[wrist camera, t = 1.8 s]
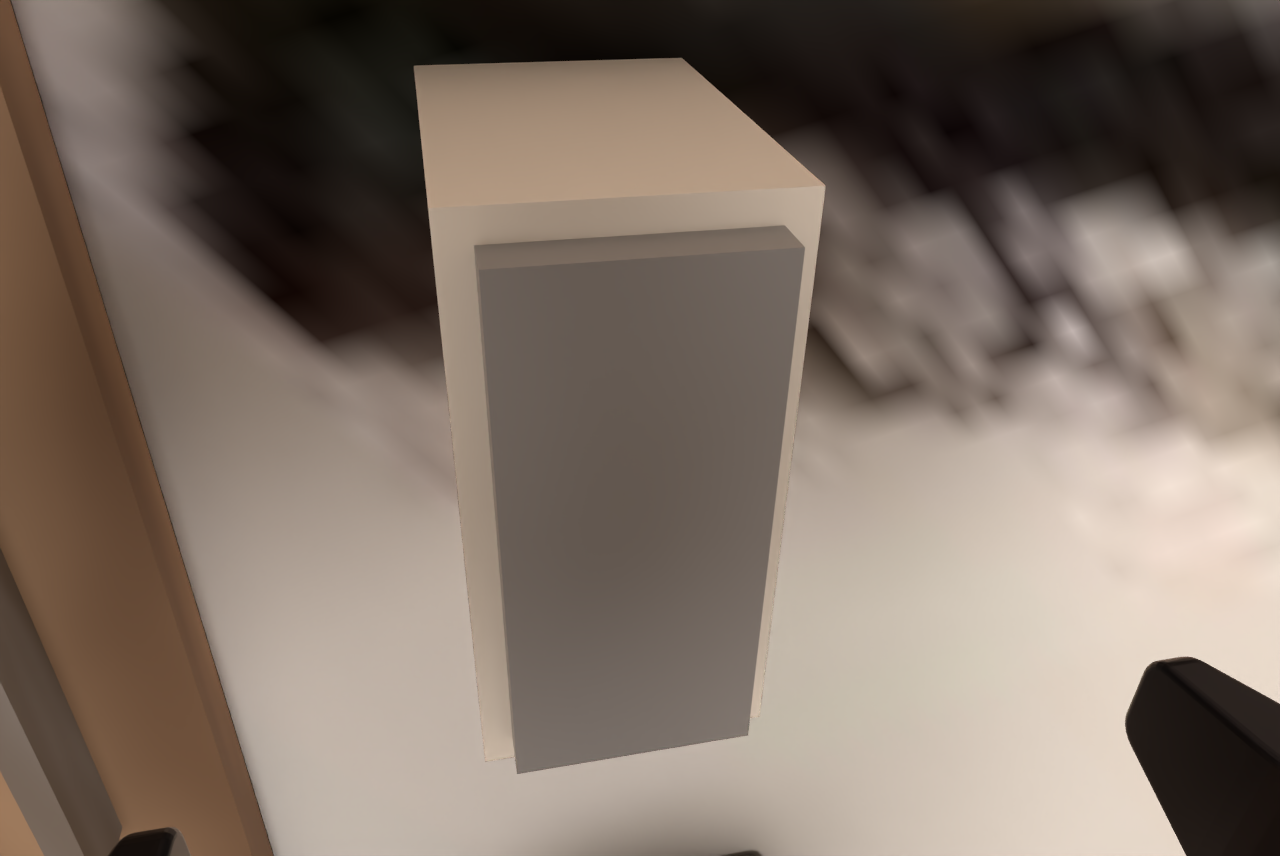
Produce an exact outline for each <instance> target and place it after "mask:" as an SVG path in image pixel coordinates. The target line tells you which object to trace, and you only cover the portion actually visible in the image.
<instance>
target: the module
mask: <svg viewBox="0 0 1280 856" xmlns="http://www.w3.org/2000/svg"><path fill="white" fill-rule="evenodd" d="M414 75H415V85H416V94H417V104H418V114H419V124H420V134H421V144H422V153H423V163H424V173H425V183H426V193H427V203H428V212H429V222H430V232H431V242H432V251H433V261H434V271H435V280H436V290H437V300H438V309H439V319H440V329H441V338H442V348H443V358H444V368H445V377H446V387H447V397H448V406H449V416H450V426H451V435H452V445H453V455H454V464H455V474H456V484H457V494H458V503H459V513H460V523H461V532H462V542H463V552H464V561H465V571H466V581H467V590H468V600H469V610H470V620H471V629H472V639H473V649H474V658H475V668H476V678H477V687H478V697H479V707H480V716H481V726H482V736H483V746H484V755H485V762H487V761H493V760H499V759H505V758H511V757H515V761H516V768H517V774H520V773H525V772H531V771H537V770H543V769H549V768H555V767H561V766H567V765H573V764H579V763H585V762H591V761H597V760H603V759H609V758H615V757H621V756H627V755H633V754H639V753H645V752H651V751H657V750H663V749H669V748H675V747H680V746H686V745H692V744H698V743H704V742H710V741H716V740H722V739H728V738H734V737H740V736H746V735H748V730H749V721H750V718H755V717H759V715H760V707H761V699H762V691H763V683H764V675H765V667H766V659H767V651H768V643H769V635H770V627H771V619H772V611H773V603H774V595H775V587H776V579H777V571H778V563H779V555H780V547H781V539H782V531H783V523H784V515H785V507H786V499H787V491H788V483H789V475H790V467H791V459H792V451H793V443H794V435H795V427H796V419H797V411H798V403H799V395H800V388H801V380H802V372H803V364H804V356H805V348H806V340H807V332H808V324H809V316H810V308H811V300H812V292H813V284H814V276H815V268H816V260H817V252H818V244H819V236H820V228H821V220H822V212H823V204H824V196H825V188H826V186H825V185H824V184H823V183H822V182H821V181H820V180H819V179H818V178H816V177H815V176H814V175H813V174H812V173H811V172H810V171H809V170H807V169H806V168H805V167H804V166H803V165H802V164H801V163H800V162H798V161H797V160H796V159H795V158H794V157H793V156H792V155H791V154H789V153H788V152H787V151H786V150H785V149H784V148H783V147H782V146H780V145H779V144H778V143H777V142H776V141H775V140H774V139H773V138H771V137H770V136H769V135H768V134H767V133H766V132H765V131H764V130H762V129H761V128H760V127H759V126H758V125H757V124H756V123H755V122H753V121H752V120H751V119H750V118H749V117H748V116H747V115H746V114H744V113H743V112H742V111H741V110H740V109H739V108H738V107H737V106H735V105H734V104H733V103H732V102H731V101H730V100H729V99H728V98H726V97H725V96H724V95H723V94H722V93H721V92H720V91H719V90H717V89H716V88H715V87H714V86H713V85H712V84H711V83H710V82H708V81H707V80H706V79H705V78H704V77H703V76H702V75H701V74H699V73H698V72H697V71H696V70H695V69H694V68H693V67H692V66H690V65H689V64H688V63H687V62H686V61H685V60H684V59H682V58H657V59H623V60H588V61H554V62H520V63H486V64H452V65H417V66H414Z"/></svg>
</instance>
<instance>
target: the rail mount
mask: <svg viewBox="0 0 1280 856" xmlns="http://www.w3.org/2000/svg"><path fill="white" fill-rule="evenodd" d="M165 827H175V828H177V829H178V830H180V831H181V833H182V834H183V836H184V839H185V841H186V844H187V846H188V849H189V852H190V854H191V856H273V853H272V849H271V846H270V843H269V840H268V836H267V833H266V830H265V827H264V824H263V820H262V817H261V814H260V811H259V807H258V804H257V801H256V798H255V794H254V791H253V788H252V785H251V781H250V778H249V775H248V772H247V768H246V765H245V762H244V759H243V755H242V752H241V749H240V746H239V742H238V739H237V736H236V733H235V729H234V726H233V723H232V720H231V716H230V713H229V710H228V707H227V703H226V700H225V697H224V694H223V690H222V687H221V684H220V681H219V677H218V674H217V671H216V668H215V664H214V661H213V658H212V655H211V651H210V648H209V645H208V642H207V638H206V635H205V632H204V629H203V625H202V622H201V619H200V616H199V612H198V609H197V606H196V603H195V599H194V596H193V593H192V590H191V586H190V583H189V580H188V577H187V573H186V570H185V567H184V564H183V560H182V557H181V554H180V551H179V547H178V544H177V541H176V538H175V534H174V531H173V528H172V525H171V521H170V518H169V515H168V512H167V508H166V505H165V502H164V499H163V495H162V492H161V489H160V486H159V483H158V479H157V476H156V473H155V470H154V466H153V463H152V460H151V457H150V453H149V450H148V447H147V444H146V440H145V437H144V434H143V431H142V427H141V424H140V421H139V418H138V414H137V411H136V408H135V405H134V401H133V398H132V395H131V392H130V388H129V385H128V382H127V379H126V375H125V372H124V369H123V366H122V362H121V359H120V356H119V353H118V349H117V346H116V343H115V340H114V336H113V333H112V330H111V327H110V323H109V320H108V317H107V314H106V310H105V307H104V304H103V301H102V297H101V294H100V291H99V288H98V284H97V281H96V278H95V275H94V271H93V268H92V265H91V262H90V258H89V255H88V252H87V249H86V245H85V242H84V239H83V236H82V232H81V229H80V226H79V223H78V219H77V216H76V213H75V210H74V206H73V203H72V200H71V197H70V193H69V190H68V187H67V184H66V180H65V177H64V174H63V171H62V167H61V164H60V161H59V158H58V155H57V151H56V148H55V145H54V142H53V138H52V135H51V132H50V129H49V125H48V122H47V119H46V116H45V112H44V109H43V106H42V103H41V99H40V96H39V93H38V90H37V86H36V83H35V80H34V77H33V73H32V70H31V67H30V64H29V60H28V57H27V54H26V51H25V47H24V44H23V41H22V38H21V34H20V31H19V28H18V25H17V21H16V18H15V15H14V12H13V8H12V5H11V2H10V0H0V856H108V854H109V853H110V852H111V850H112V849H113V847H114V846H115V845H116V844H117V843H118V842H119V841H120V840H121V839H122V838H124V837H125V836H126V835H129V834H131V833H135V832H141V831H147V830H153V829H159V828H165Z"/></svg>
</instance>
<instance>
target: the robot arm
mask: <svg viewBox="0 0 1280 856" xmlns="http://www.w3.org/2000/svg"><path fill="white" fill-rule="evenodd" d="M1125 727H1126V733H1127V736H1128V740H1129V742H1130V744H1131V746H1132V748H1133V750H1134V752H1135V754H1136V756H1137V758H1138V760H1139V762H1140V764H1141V766H1142V768H1143V770H1144V772H1145V774H1146V776H1147V778H1148V780H1149V782H1150V784H1151V786H1152V788H1153V790H1154V792H1155V794H1156V796H1157V798H1158V800H1159V802H1160V804H1161V806H1162V808H1163V810H1164V812H1165V814H1166V816H1167V818H1168V820H1169V822H1170V824H1171V826H1172V828H1173V830H1174V832H1175V834H1176V836H1177V838H1178V840H1179V842H1180V844H1181V846H1182V848H1183V850H1184V852H1185V854H1186V856H1280V704H1279V703H1277V702H1276V701H1274V700H1272V699H1270V698H1268V697H1266V696H1265V695H1263V694H1261V693H1259V692H1257V691H1256V690H1254V689H1252V688H1250V687H1248V686H1246V685H1245V684H1243V683H1241V682H1239V681H1237V680H1236V679H1234V678H1232V677H1230V676H1228V675H1226V674H1225V673H1223V672H1221V671H1219V670H1217V669H1216V668H1214V667H1212V666H1210V665H1208V664H1206V663H1205V662H1203V661H1201V660H1198V659H1196V658H1193V657H1177V658H1171V659H1165V660H1160V661H1155V662H1153V663H1151V664H1150V665H1149V666H1148V667H1147V668H1146V670H1145V671H1144V673H1143V676H1142V678H1141V681H1140V683H1139V685H1138V688H1137V690H1136V692H1135V695H1134V697H1133V700H1132V702H1131V704H1130V707H1129V709H1128V712H1127V714H1126V719H1125ZM108 856H191V854H190V852H189V849H188V846H187V844H186V841H185V839H184V836H183V834H182V833H181V831H180V830H178V829H177V828H175V827H165V828H159V829H153V830H147V831H141V832H135V833H131V834H129V835H126V836H125V837H124V838H122V839H121V840H120V841H119V842H118V843H117V844H116V845H115V846H114V847H113V849H112V850H111V852H110V853H109V854H108Z"/></svg>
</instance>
